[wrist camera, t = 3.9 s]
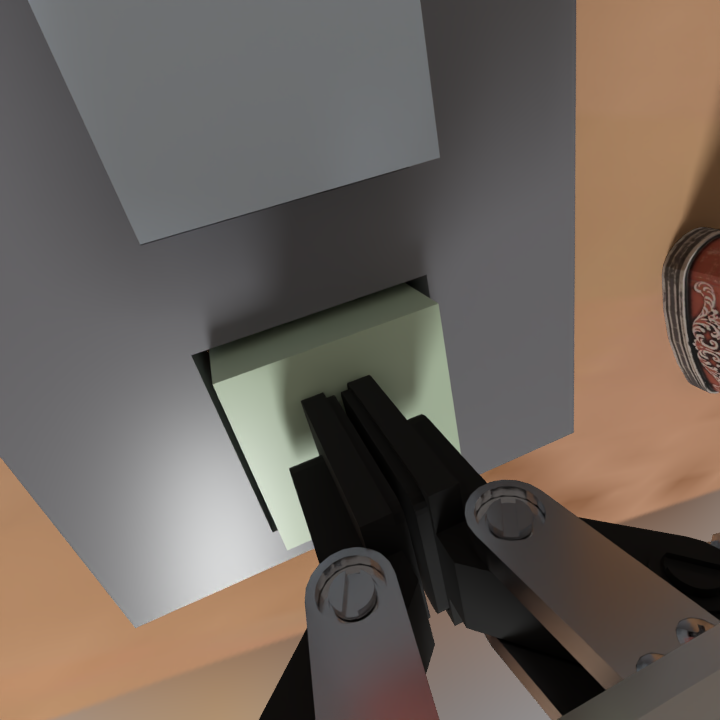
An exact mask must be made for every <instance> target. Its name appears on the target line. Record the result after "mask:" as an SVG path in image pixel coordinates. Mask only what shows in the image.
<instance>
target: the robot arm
mask: <svg viewBox="0 0 720 720" xmlns="http://www.w3.org/2000/svg"><path fill="white" fill-rule="evenodd" d="M347 388H348V390H345V391H343V392H341V397H342V401H343V404H344V407H345V411H346V413H345V411H344V409H343V408H342V406H341V405H340V403H339V401H338V400H337V398H336V396H335V395H332V396H330V397H326V396H325V394H324V393H323V392H322V393H320V394H317V395H315V396H312V397H309V398H307V399H304V400H302V401H301V404H302V407H303V410H304V413H305V416H306V419H307V422H308V424H309V427H310V430H311V433H312V436H313V439H314V442H315V445H316V448H317V450H318V453H319V456H318V457H315V458H313V459H310V460H308V461H305V462H303V463H300V464H298V465H296V466H293V467H291V468H289V471H290V474H291V477H292V480H293V483H294V486H295V489H296V493H297V496H298V499H299V502H300V505H301V508H302V511H303V514H304V517H305V520H306V523H307V526H308V529H309V533H310V536H311V539H312V542H313V545H314V548H315V551H316V554H317V557H318V560H319V563H320V564H319V565H318V567H317V568H316V569H315V571H314V572H313V574H312V575H311V577H310V579H309V582H308V584H307V587H306V594H305V609H306V620H307V629H306V631H305V633H304V635H303V637H302V639H301V641H300V642H299V644H298V646H297V648H296V650H295V652H294V654H293V656H292V658H291V660H290V661H289V663H288V665H287V667H286V669H285V671H284V673H283V675H282V677H281V679H280V680H279V683H278V684H277V686H276V688H275V690H274V692H273V694H272V696H271V698H270V700H269V701H268V703H267V705H266V707H265V709H264V711H263V713H262V715H261V717H260V719H259V720H439V717H438V713H437V710H436V707H435V703H434V701H433V697H432V693H431V690H430V687H429V684H428V680H427V677H426V672H427V669H428V666H429V662H430V658H431V656H432V652H433V649H434V646H435V643H434V639H433V636H432V632H431V628H430V624H429V620H428V619H429V618H430V614H429V610H428V606H427V602H426V597H425V593H426V595H427V597H428V598H429V600H430V602H431V604H432V606H433V608H434V609H435V611H436V612H437V613H440V612H442V611H444V610H446V611H447V613H448V615H449V616H450V618H451V620H452V622H453V623H454V625H455V626H456V625H458V624H459V623H462V622H463V623H464V624H465V626H466V628H469V629H472V630H475V631H478V632H481V633H484V634H485V637H486V638H487V640H488V642H489V643H490V645H491V646H492V648H493V649H494V650H495V651H496V653H497V654H498V655H499V656H500V658H501V659H502V660H503V661H504V662H505V664H506V665H507V666H508V667H509V669H510V670H511V671H512V672H513V673H514V675H515V676H516V677H517V678H518V679H519V681H520V682H521V683H522V684H523V686H524V687H525V688H526V689H527V691H528V692H529V693H530V694H531V695H532V697H533V698H534V699H535V700H536V701H537V703H538V704H539V705H540V706H541V708H542V709H543V710H544V711H545V713H546V714H547V715H548V716H549V718H550V719H551V720H720V533H717V534H713V536H712V540H711V542H704V541H701V540H697V539H693V538H690V537H686V536H680V535H674V534H669V533H663V532H658V531H652V530H647V529H641V528H635V527H630V526H624V525H619V524H613V523H607V522H602V521H596V520H591V519H585V518H580V517H577V516H576V515H574V514H573V513H571V512H570V511H569V510H567V509H566V508H565V507H563V506H562V505H561V504H559V503H558V502H556V501H555V500H554V499H552V498H551V497H550V496H548V495H547V494H545V493H544V492H543V491H541V490H540V489H538V488H536V487H534V486H532V485H530V484H528V483H524V482H520V481H517V480H499V481H493V482H489V483H486V481H485V480H484V479H483V478H482V477H481V476H480V475H479V474H478V473H477V472H476V470H475V469H474V468H473V467H472V466H471V465H470V464H469V463H468V462H467V460H466V459H465V458H464V457H463V456H462V455H461V454H460V453H459V452H458V451H457V449H456V448H455V447H454V446H453V445H452V444H451V443H450V442H449V441H448V440H447V438H446V437H445V436H444V435H443V434H442V433H441V432H440V431H439V430H438V428H437V427H436V426H435V425H434V424H433V423H432V422H431V421H430V420H429V419H428V418H427V417H426V416H425V415H423V414H420V415H417V416H415V417H413V418H410V419H408V420H407V419H406V418H405V417H404V415H403V414H402V413H401V412H400V411H399V409H398V408H397V407H396V406H395V404H394V403H393V402H392V401H391V400H390V398H389V397H388V396H387V395H386V393H385V392H384V391H383V390H382V389H381V387H380V386H379V385H378V384H377V383H376V381H375V380H374V379H373V378H372V376H370V375H367V376H364V377H362V378H359V379H356V380H354V381H351V382H349V383H347ZM424 591H425V593H424Z"/></svg>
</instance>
